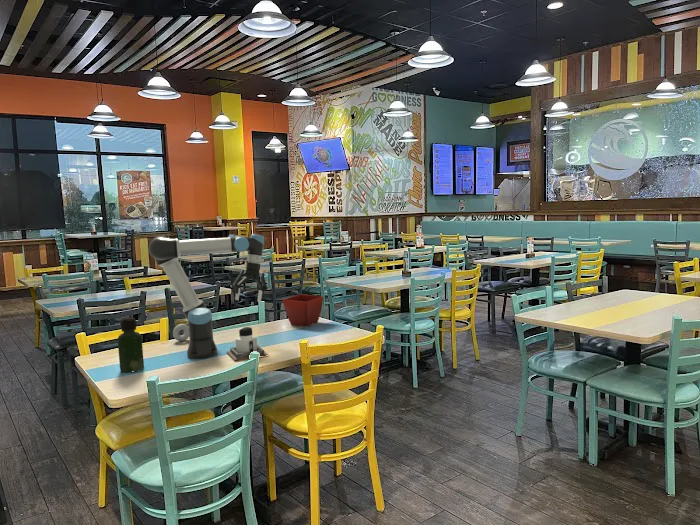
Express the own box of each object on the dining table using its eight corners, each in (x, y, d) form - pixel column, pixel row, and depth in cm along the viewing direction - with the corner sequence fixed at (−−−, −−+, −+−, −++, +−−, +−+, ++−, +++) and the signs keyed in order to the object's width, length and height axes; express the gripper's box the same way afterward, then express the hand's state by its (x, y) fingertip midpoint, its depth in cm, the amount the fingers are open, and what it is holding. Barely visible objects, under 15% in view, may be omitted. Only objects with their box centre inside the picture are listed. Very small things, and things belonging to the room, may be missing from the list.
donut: (174, 343, 288) (173, 326, 287) (172, 342, 291) (171, 324, 290) (192, 340, 294) (190, 323, 293) (190, 338, 297) (188, 322, 295)
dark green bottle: (148, 368, 243) (143, 317, 240) (126, 374, 235) (121, 321, 232) (137, 364, 249) (133, 314, 247) (116, 370, 242) (112, 318, 239)
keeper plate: (234, 361, 249) (234, 355, 249) (226, 353, 264) (226, 347, 264) (268, 356, 257) (267, 350, 256) (258, 348, 272) (258, 342, 271)
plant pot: (307, 328, 312) (306, 301, 310) (283, 325, 322) (281, 299, 320) (325, 321, 328) (324, 296, 326) (301, 319, 338) (300, 294, 336)
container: (257, 351, 262) (256, 326, 260) (247, 355, 255) (246, 330, 254) (246, 349, 266) (244, 325, 264) (236, 353, 259) (234, 328, 258)
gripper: (236, 259, 269) (230, 299, 268) (276, 266, 284) (271, 303, 284) (230, 259, 275) (224, 298, 274) (270, 265, 290) (264, 302, 289)
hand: (248, 301), depth 279 cm, fingers open, 13 cm apart
